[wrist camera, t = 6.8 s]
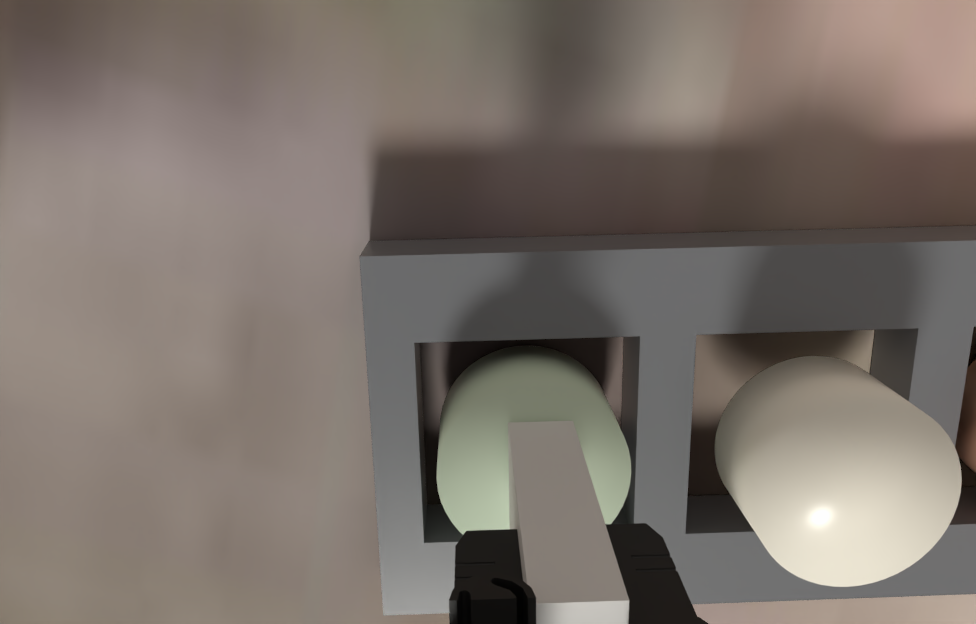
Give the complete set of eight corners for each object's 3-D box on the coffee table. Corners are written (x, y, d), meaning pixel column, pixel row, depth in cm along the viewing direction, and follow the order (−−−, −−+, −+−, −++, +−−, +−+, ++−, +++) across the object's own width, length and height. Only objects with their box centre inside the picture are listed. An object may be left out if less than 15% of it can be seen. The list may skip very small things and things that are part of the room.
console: (389, 572, 23) (383, 615, 21) (369, 241, 21) (359, 256, 19) (1114, 546, 24) (1172, 586, 22) (1188, 219, 21) (1261, 232, 19)
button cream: (709, 524, 21) (746, 590, 18) (720, 358, 19) (761, 401, 17) (883, 518, 21) (946, 583, 18) (905, 352, 19) (976, 395, 17)
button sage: (442, 505, 22) (440, 564, 19) (436, 347, 21) (432, 386, 18) (608, 499, 22) (628, 557, 19) (612, 342, 21) (634, 380, 18)
